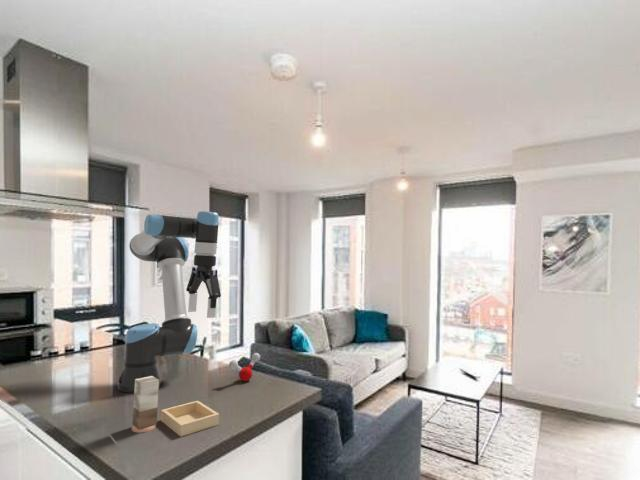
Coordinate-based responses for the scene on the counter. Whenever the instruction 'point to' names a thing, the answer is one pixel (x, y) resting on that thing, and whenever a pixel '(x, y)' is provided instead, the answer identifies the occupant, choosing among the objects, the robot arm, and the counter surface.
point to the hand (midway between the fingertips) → (201, 314)
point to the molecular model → (245, 372)
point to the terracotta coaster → (142, 429)
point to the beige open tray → (189, 418)
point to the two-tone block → (145, 402)
